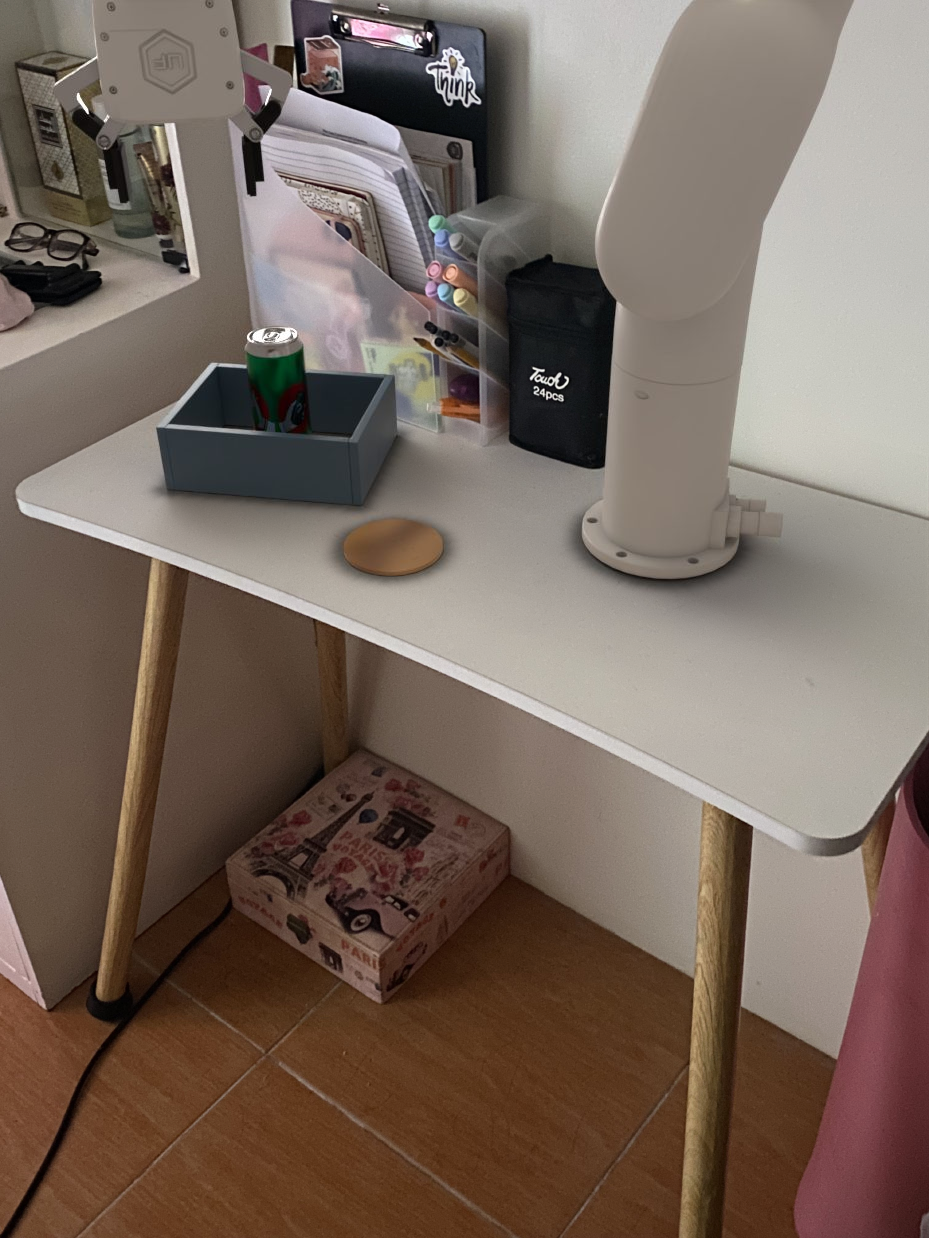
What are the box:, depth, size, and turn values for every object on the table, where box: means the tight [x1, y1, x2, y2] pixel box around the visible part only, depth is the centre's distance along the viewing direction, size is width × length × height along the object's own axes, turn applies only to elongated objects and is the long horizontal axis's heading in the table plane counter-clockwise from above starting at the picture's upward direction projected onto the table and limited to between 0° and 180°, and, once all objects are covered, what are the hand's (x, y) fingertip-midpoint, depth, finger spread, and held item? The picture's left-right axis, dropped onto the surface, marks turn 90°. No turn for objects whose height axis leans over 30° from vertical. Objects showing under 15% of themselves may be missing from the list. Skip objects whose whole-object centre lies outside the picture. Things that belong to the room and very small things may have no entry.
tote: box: [155, 362, 398, 506], centre depth 109 cm, size 18×14×6 cm
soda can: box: [244, 325, 313, 435], centre depth 107 cm, size 5×5×12 cm
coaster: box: [342, 518, 444, 577], centre depth 98 cm, size 8×8×1 cm
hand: (189, 195), depth 95 cm, fingers open, 9 cm apart
